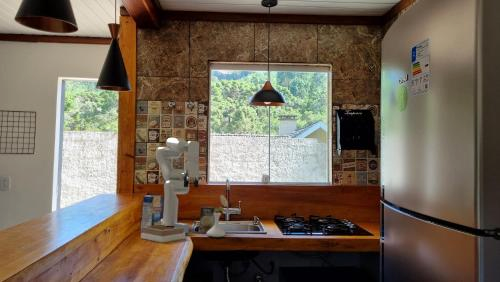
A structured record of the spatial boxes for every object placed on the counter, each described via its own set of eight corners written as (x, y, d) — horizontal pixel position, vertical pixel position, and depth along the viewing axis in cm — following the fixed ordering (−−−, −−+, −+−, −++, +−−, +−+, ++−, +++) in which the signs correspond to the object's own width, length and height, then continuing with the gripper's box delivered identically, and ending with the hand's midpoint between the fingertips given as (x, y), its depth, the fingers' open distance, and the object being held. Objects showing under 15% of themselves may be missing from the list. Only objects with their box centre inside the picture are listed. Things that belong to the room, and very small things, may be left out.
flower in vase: (214, 239, 200) (217, 195, 203) (202, 236, 208) (205, 194, 210) (231, 237, 210) (233, 195, 212) (218, 234, 217) (220, 194, 220)
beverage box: (140, 233, 204) (143, 196, 207) (150, 231, 215) (153, 195, 217) (150, 234, 202) (153, 196, 205) (160, 232, 213) (163, 196, 215)
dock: (140, 238, 191) (141, 226, 191) (165, 234, 206) (165, 224, 206) (161, 242, 182) (162, 230, 183) (185, 238, 197) (185, 227, 198)
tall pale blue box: (173, 233, 211) (173, 223, 212) (178, 232, 215) (179, 222, 216) (182, 235, 207) (183, 224, 208) (188, 234, 211) (189, 224, 212)
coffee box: (198, 232, 218) (200, 207, 220) (200, 231, 224) (202, 206, 226) (212, 234, 217) (214, 208, 219) (214, 232, 223) (216, 207, 225)
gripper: (196, 161, 231) (195, 187, 228) (178, 159, 216) (177, 186, 214) (205, 161, 227) (204, 187, 225) (188, 159, 212) (186, 187, 210)
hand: (191, 187), depth 219 cm, fingers open, 9 cm apart
